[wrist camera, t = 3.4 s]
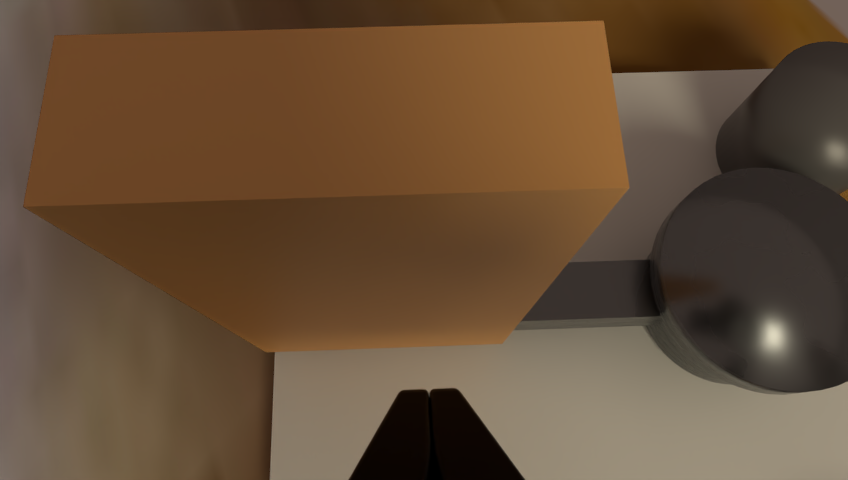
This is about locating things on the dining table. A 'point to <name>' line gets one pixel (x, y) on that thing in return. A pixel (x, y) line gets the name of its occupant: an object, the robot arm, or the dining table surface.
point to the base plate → (615, 346)
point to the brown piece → (423, 197)
